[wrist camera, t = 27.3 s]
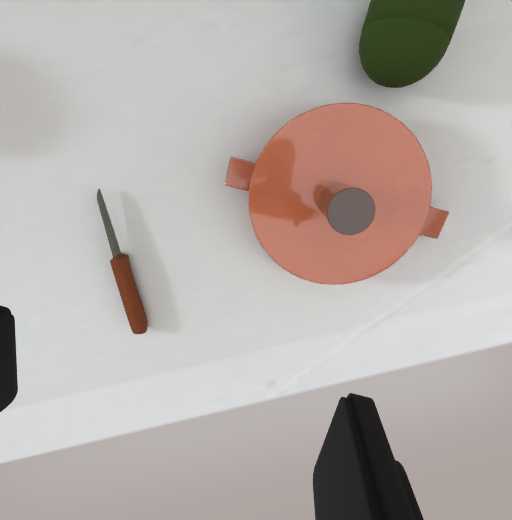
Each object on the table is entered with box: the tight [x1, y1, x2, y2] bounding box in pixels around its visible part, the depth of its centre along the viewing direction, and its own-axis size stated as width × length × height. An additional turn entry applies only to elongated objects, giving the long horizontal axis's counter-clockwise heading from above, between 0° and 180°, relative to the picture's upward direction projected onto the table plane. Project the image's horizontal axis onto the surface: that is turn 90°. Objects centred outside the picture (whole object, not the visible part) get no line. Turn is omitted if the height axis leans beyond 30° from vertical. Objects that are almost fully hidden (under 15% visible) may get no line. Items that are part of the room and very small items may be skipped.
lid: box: [249, 103, 432, 284], centre depth 23 cm, size 15×15×7 cm
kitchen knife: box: [97, 189, 147, 334], centre depth 32 cm, size 16×1×2 cm, turn 10°
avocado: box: [359, 0, 465, 88], centre depth 21 cm, size 8×6×6 cm
